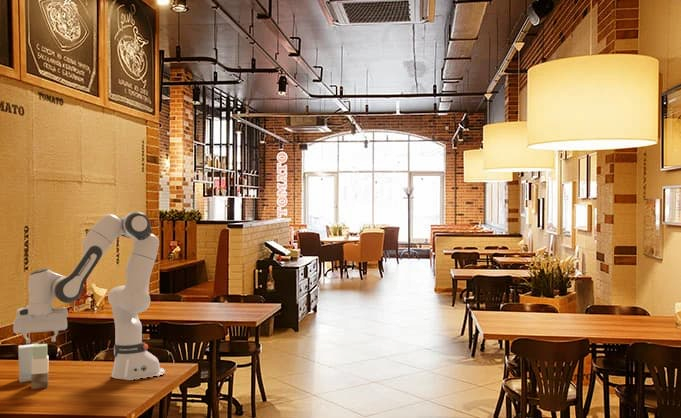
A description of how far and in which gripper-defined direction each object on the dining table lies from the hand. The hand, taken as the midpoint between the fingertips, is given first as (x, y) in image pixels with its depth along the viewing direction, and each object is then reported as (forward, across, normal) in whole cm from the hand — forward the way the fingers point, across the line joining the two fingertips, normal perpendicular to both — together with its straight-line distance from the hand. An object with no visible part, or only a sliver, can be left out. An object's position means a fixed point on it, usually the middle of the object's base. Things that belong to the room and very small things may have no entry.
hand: (40, 342), depth 265 cm
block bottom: (+18, +1, 0) cm, 18 cm away
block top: (+12, 0, 0) cm, 12 cm away
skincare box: (+18, +6, -13) cm, 23 cm away
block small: (+6, 0, 0) cm, 6 cm away
